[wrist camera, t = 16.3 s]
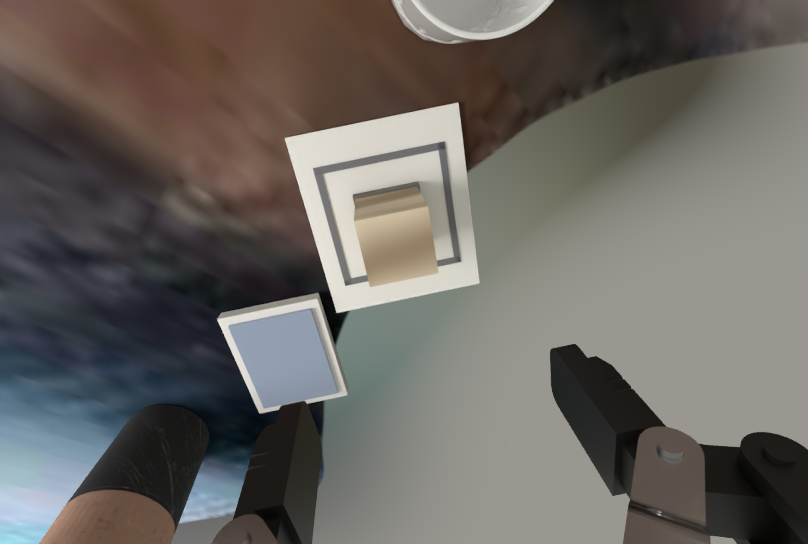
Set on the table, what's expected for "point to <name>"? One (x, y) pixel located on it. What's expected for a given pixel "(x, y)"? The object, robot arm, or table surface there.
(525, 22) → the white cup
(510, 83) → the table surface
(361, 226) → the stamp
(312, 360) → the ink pad
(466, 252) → the sheet
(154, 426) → the travel mug
